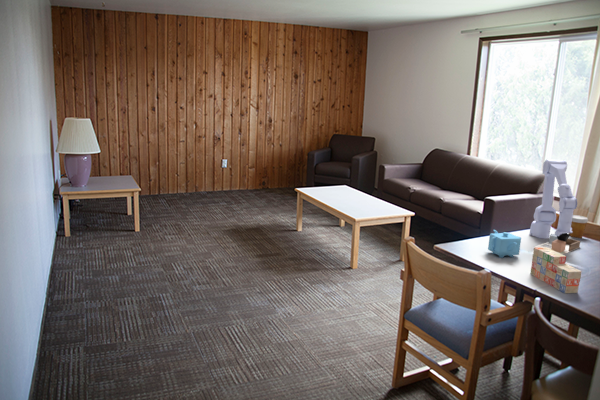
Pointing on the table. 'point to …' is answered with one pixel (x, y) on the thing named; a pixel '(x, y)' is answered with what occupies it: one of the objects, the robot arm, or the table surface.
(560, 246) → the terracotta cube
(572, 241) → the walnut cubby
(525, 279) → the table surface
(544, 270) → the stack of blocks
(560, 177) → the robot arm
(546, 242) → the deck
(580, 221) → the disposable coffee cup
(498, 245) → the teapot
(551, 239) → the white block
